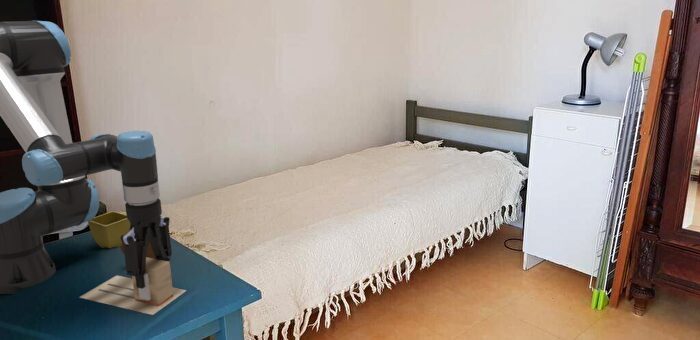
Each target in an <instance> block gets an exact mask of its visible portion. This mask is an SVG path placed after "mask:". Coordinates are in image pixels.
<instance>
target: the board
mask: <svg viewBox="0 0 700 340" xmlns="http://www.w3.org/2000/svg"><path fill="white" fill-rule="evenodd" d="M172 288H173V297H171V298H170V299H169V300H167V301H166V302H164V303H163V304H162V305H160V306H156V305H152V304H147V303H143V302H139V301H135V295H134V287H133V280H132V277H131V278H130V277H126V276H121V275H115V276H113V277H111V278H109V279H107V280H106V281H105V282H103V283H100V284H99V285H97V286H96V287H94V288H92V289H91V290H89V291H87V292H86V293H84V294H82V295H80V296H79V298H80V299H84V300H88V301H92V302H97V303H100V304H101V303H102V304H107V305H110V306H114V307H118V308H121V309H126V310H131V311H134V312H138V313H142V314H146V315H147V314H148V315H151V316H154V315H155V314H156V313H158V312H159V311H161V310H162V309H163V308H165V307H166V306H168V305H169V304H171V302H173V301H174V300H176V299H177V298H179V297H180V296H181V295H183V294H184V293H186V291H187V290H186V289H182V288H177V287H173V286H172Z"/></svg>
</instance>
